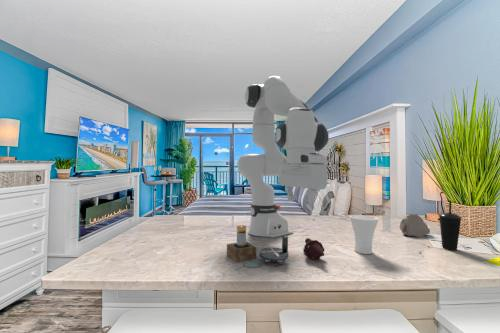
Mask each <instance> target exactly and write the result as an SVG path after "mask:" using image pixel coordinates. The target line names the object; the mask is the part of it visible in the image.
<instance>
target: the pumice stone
mask: <svg viewBox="0 0 500 333" xmlns="http://www.w3.org/2000/svg"><path fill="white" fill-rule="evenodd" d="M399 229H400V230H401V233H402V234H403V235H404V236H408V237H425V236H427V235H430V232H431V229H430V228H429V226H428V224H426V222H424V219H423V218H422V217H421V216H419V215H418V214H413V213H410V214H408V215H406V217H405V218H403V219H402V220H400V224H399Z"/></svg>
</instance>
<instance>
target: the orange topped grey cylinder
mask: <svg viewBox="0 0 500 333" xmlns="http://www.w3.org/2000/svg"><path fill="white" fill-rule="evenodd" d="M246 242H247V226H246V225H236V243H237V248H244V247H246Z"/></svg>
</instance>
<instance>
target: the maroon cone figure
mask: <svg viewBox="0 0 500 333" xmlns="http://www.w3.org/2000/svg"><path fill="white" fill-rule="evenodd" d="M304 243H305V245H304V246H303V251H302V252H303V253H304V254H305V256H306V257H307V258H308V259H311V260H319V259H321V258H322V257H325V248H324V246H323V243H321V242H320V241H318V240H317V239H314V240H313V239H311V238H309V237H306V238H305V240H304Z"/></svg>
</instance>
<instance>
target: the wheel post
mask: <svg viewBox="0 0 500 333" xmlns="http://www.w3.org/2000/svg"><path fill="white" fill-rule="evenodd" d="M283 261H284V260H280V261H272V260H266V259H264V262H265V263H266V264H267V265H270V266H279V265H282V264H283V263H284V262H283Z"/></svg>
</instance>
